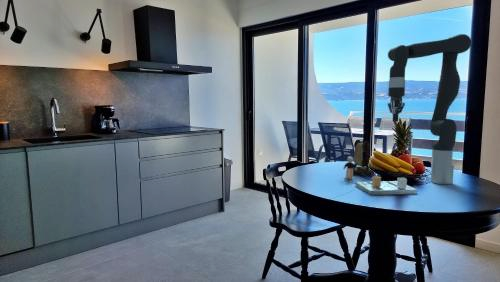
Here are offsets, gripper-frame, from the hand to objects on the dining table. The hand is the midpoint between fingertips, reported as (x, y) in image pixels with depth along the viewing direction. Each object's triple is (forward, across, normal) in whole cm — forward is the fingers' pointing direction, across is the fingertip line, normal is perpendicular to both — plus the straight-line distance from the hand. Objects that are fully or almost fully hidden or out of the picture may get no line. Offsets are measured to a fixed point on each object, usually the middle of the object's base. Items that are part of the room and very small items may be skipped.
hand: (395, 121), depth 167 cm
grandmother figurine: (+32, +12, +18) cm, 39 cm away
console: (+32, -12, +10) cm, 35 cm away
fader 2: (+30, -18, +5) cm, 35 cm away
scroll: (+32, +25, +6) cm, 41 cm away
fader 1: (+30, -13, +15) cm, 36 cm away
